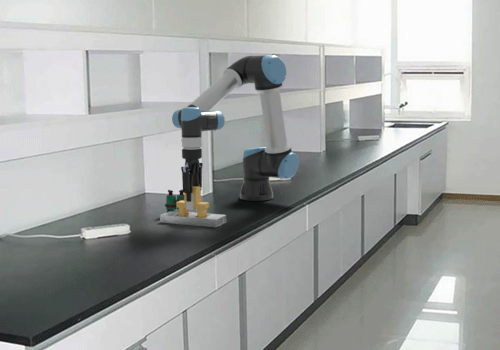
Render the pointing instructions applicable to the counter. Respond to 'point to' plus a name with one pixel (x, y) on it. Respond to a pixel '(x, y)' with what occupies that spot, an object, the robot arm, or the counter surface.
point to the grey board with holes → (193, 219)
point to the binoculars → (173, 200)
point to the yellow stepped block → (198, 204)
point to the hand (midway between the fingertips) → (192, 208)
